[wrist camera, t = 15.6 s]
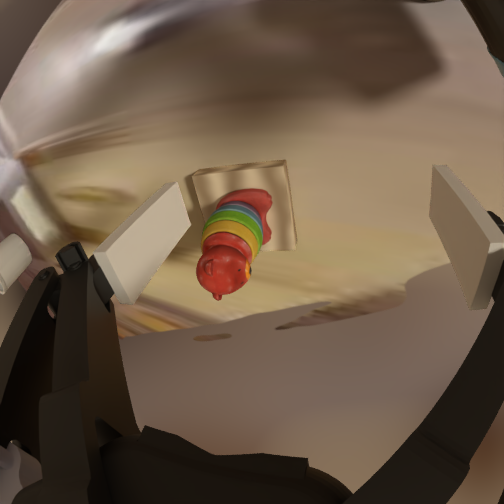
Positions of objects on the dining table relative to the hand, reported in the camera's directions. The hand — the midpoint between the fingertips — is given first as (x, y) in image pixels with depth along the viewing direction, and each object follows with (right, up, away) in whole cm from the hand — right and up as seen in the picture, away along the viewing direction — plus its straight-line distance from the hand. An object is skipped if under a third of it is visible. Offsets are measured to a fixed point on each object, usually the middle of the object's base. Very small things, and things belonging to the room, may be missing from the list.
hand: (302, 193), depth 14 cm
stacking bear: (-4, +4, +38) cm, 38 cm away
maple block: (-3, +6, +41) cm, 42 cm away
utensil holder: (-87, -2, +72) cm, 113 cm away
